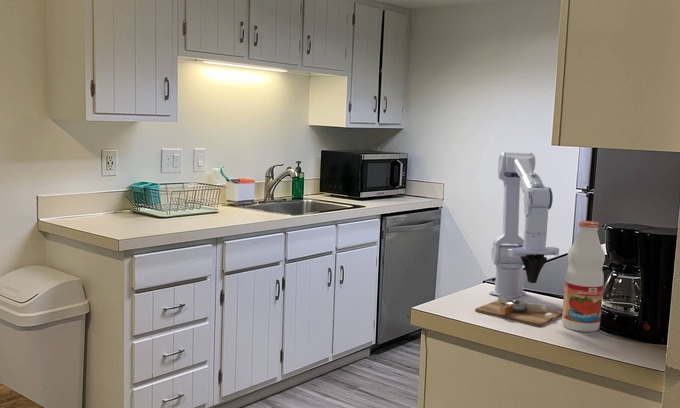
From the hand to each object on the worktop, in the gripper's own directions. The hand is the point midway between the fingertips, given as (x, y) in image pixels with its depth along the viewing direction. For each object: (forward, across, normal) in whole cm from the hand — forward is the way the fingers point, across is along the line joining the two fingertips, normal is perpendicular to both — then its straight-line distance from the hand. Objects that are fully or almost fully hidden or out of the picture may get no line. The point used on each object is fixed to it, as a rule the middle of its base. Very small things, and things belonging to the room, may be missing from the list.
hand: (531, 282), depth 176 cm
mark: (+10, +5, -2) cm, 12 cm away
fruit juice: (+11, +10, -9) cm, 17 cm away
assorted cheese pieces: (+9, -1, +6) cm, 11 cm away
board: (+10, 0, +6) cm, 12 cm away
